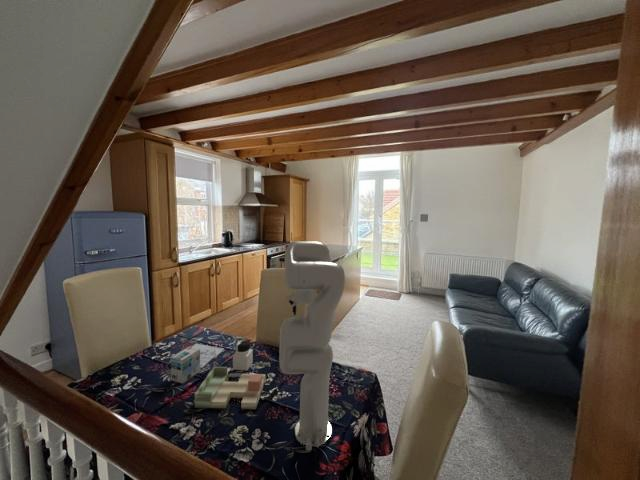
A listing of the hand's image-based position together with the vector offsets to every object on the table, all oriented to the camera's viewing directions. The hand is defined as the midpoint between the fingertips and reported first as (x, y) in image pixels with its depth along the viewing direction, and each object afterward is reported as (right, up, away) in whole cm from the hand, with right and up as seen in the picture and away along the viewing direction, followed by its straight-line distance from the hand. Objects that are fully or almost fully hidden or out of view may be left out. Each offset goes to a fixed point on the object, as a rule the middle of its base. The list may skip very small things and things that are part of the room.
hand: (305, 314), depth 124 cm
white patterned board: (-55, -25, +12) cm, 62 cm away
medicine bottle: (-30, -26, +4) cm, 40 cm away
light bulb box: (-53, -26, -5) cm, 60 cm away
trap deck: (-29, -28, -15) cm, 43 cm away
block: (-20, -26, -15) cm, 36 cm away
